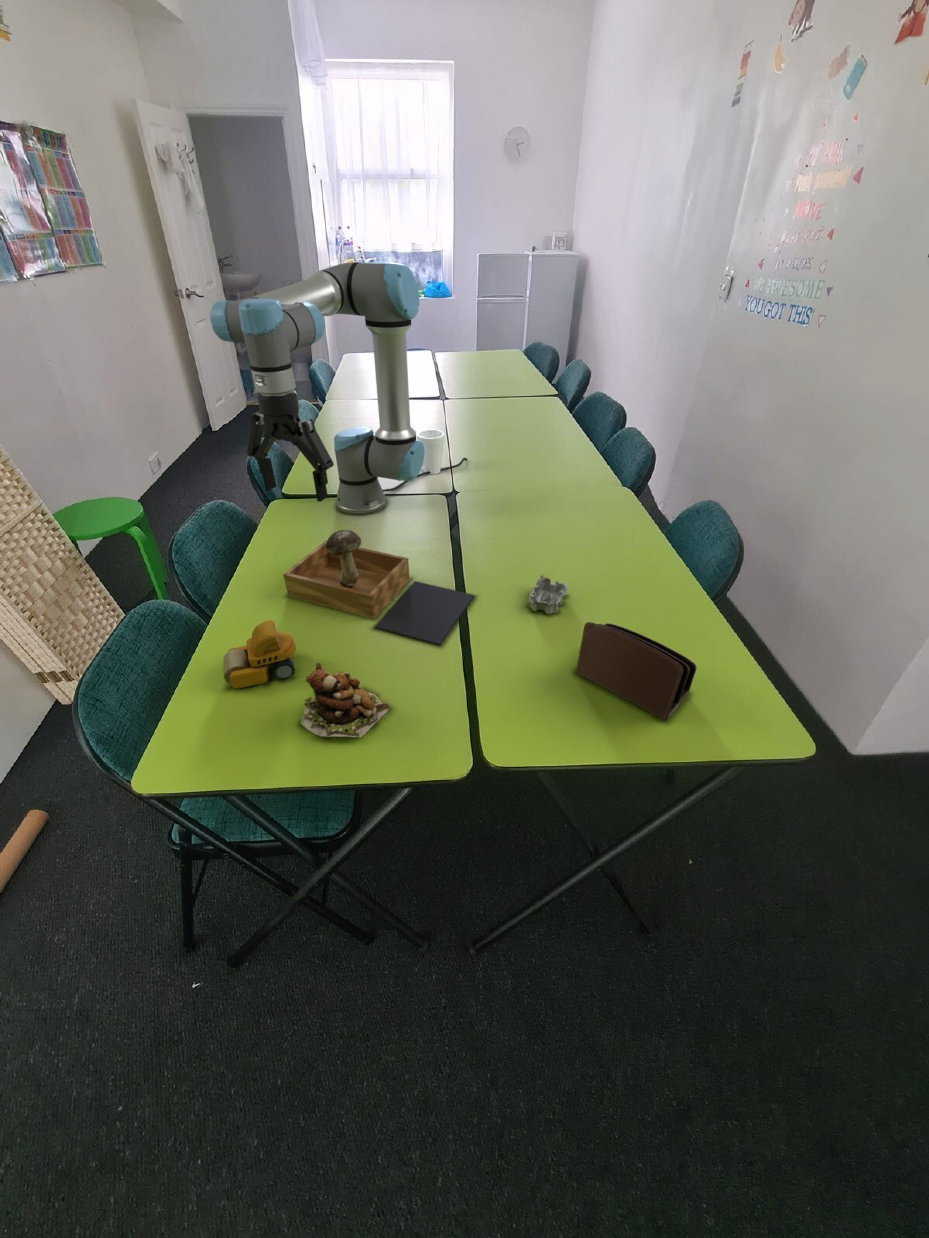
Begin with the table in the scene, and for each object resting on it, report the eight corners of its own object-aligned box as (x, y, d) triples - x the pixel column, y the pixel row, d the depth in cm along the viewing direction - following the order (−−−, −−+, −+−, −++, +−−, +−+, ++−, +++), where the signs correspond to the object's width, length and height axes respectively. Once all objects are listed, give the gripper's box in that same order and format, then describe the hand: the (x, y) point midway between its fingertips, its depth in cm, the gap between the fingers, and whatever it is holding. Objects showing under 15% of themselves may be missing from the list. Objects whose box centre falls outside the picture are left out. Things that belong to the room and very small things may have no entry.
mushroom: (360, 599, 134) (352, 544, 125) (326, 595, 135) (316, 540, 126) (373, 578, 141) (366, 525, 132) (340, 574, 143) (332, 521, 134)
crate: (329, 560, 149) (326, 539, 145) (409, 579, 141) (408, 558, 138) (288, 596, 136) (282, 574, 132) (374, 619, 128) (371, 596, 124)
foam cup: (416, 474, 195) (413, 437, 187) (422, 464, 202) (420, 428, 194) (442, 476, 193) (441, 439, 186) (447, 466, 201) (446, 430, 193)
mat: (415, 583, 140) (415, 581, 140) (474, 597, 135) (474, 595, 135) (375, 628, 125) (374, 626, 125) (439, 646, 120) (439, 643, 120)
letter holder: (665, 722, 103) (683, 665, 94) (574, 673, 113) (583, 618, 105) (689, 693, 109) (707, 637, 100) (600, 649, 119) (610, 595, 111)
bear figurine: (360, 753, 97) (352, 704, 90) (289, 728, 102) (276, 679, 94) (397, 701, 107) (392, 653, 100) (331, 680, 112) (322, 633, 105)
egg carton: (540, 586, 139) (541, 572, 136) (569, 594, 136) (571, 580, 134) (524, 609, 131) (525, 594, 129) (554, 617, 128) (556, 603, 126)
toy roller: (226, 665, 116) (212, 625, 109) (296, 649, 120) (287, 610, 113) (227, 694, 109) (213, 653, 103) (302, 675, 113) (292, 635, 107)
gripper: (212, 389, 109) (239, 490, 122) (318, 404, 101) (335, 511, 114) (239, 380, 115) (262, 478, 128) (341, 393, 107) (355, 496, 119)
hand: (296, 493), depth 121 cm, fingers open, 13 cm apart
